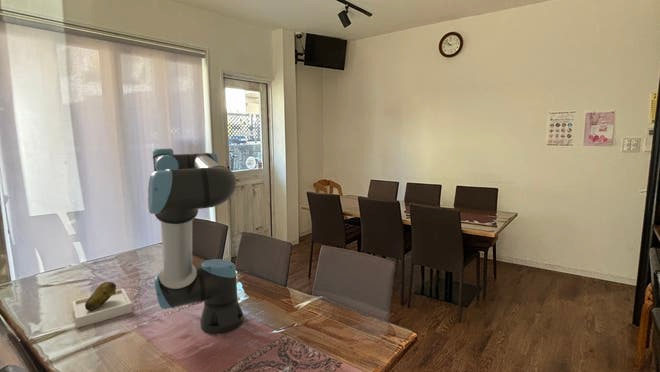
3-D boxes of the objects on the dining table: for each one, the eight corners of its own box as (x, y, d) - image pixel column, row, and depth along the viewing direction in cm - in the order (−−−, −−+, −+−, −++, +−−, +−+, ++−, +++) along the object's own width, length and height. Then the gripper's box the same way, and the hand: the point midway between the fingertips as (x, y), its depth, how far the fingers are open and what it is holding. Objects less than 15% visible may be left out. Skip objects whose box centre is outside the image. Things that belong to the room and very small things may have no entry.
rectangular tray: (132, 312, 141) (131, 303, 141) (77, 327, 130) (75, 318, 130) (124, 296, 155) (123, 288, 155) (73, 309, 144) (72, 300, 144)
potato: (77, 309, 139) (75, 290, 138) (111, 296, 150) (109, 278, 149) (90, 314, 135) (87, 294, 134) (123, 300, 146) (121, 281, 145)
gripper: (185, 189, 136) (189, 243, 139) (167, 183, 155) (171, 231, 159) (164, 192, 132) (169, 248, 135) (148, 185, 151) (153, 234, 154)
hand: (170, 238), depth 147 cm, fingers open, 13 cm apart
